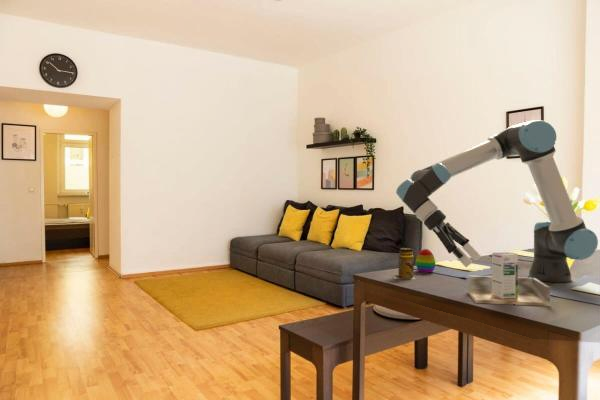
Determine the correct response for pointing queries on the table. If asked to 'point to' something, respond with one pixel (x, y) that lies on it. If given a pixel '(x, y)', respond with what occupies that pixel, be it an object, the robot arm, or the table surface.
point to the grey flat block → (528, 294)
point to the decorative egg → (425, 261)
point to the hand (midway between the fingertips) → (474, 261)
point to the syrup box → (505, 275)
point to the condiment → (405, 264)
